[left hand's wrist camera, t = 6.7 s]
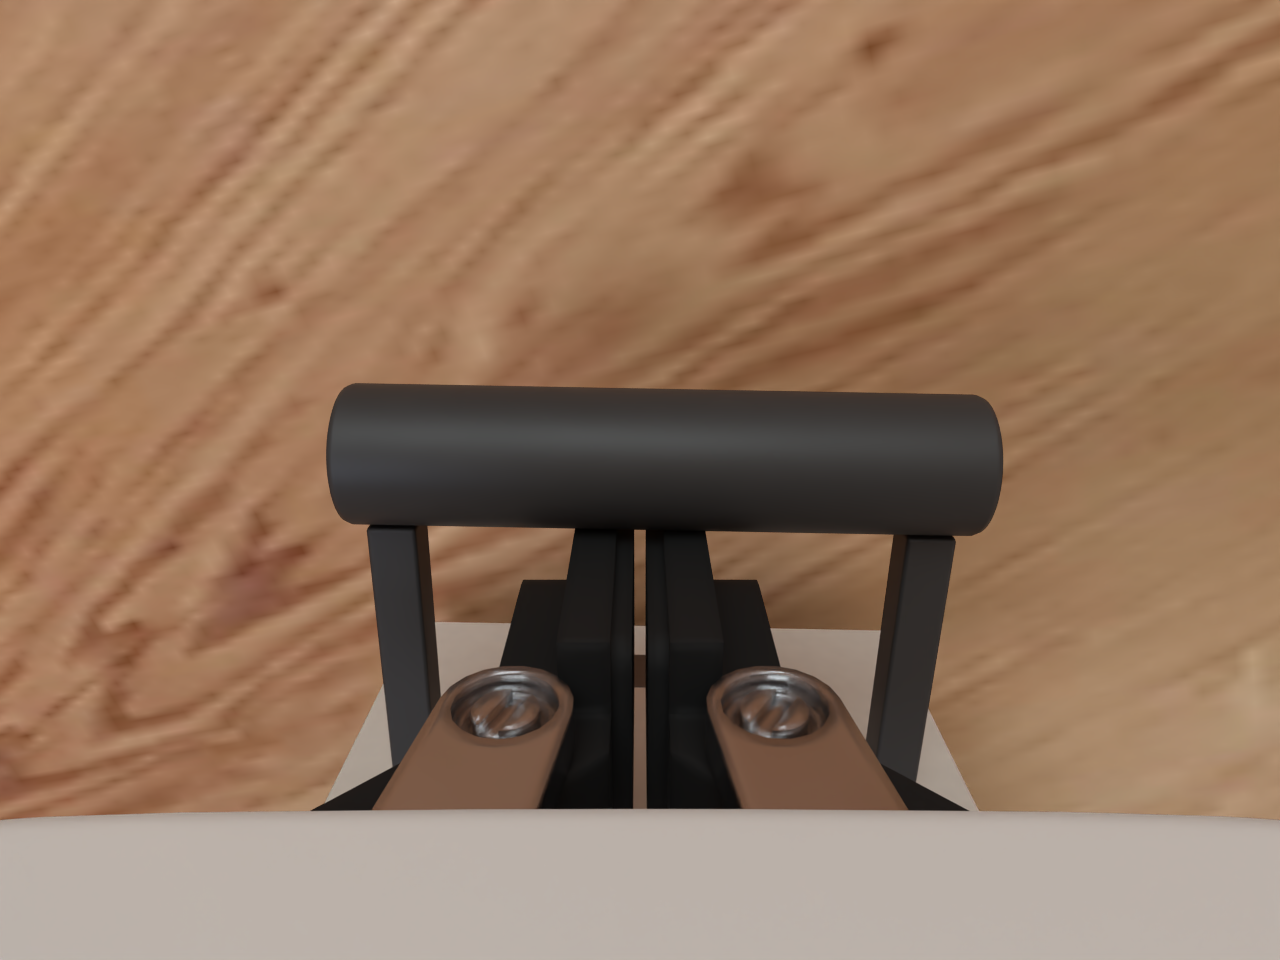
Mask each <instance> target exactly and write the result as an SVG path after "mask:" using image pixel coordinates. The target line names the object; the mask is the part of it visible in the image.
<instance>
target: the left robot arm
mask: <svg viewBox="0 0 1280 960" xmlns="http://www.w3.org/2000/svg"><path fill="white" fill-rule="evenodd" d="M645 690H646V787H647V809H633V781H634V530H631V529H579V528H575V533H574V539H573V545H572V551H571V557H570V563H569V569H568V575H567V580H523V582H522V584H521V588H520V591H519V595H518V599H517V602H516V606H515V610H514V614H513V617H512V621H511V625H510V629H509V632H508V636H507V640H506V643H505V647H504V651H503V655H502V658H501V662H500V666H499V667H496V668H490V669H485V670H482V671H479V672H476V673H474V674H471V675H468V676H466V677H464V678H463V679H461V680H459V681H458V682H456V683H455V684H453V685H452V686H450V687H449V688H448V689H447V691H446V692H445V693H444V694H443V695H442V696H441V697H440V699H439V700H438V702H437V704H436V705H435V707H434V709H433V710H432V712H431V713H430V715H429V717H428V718H427V720H426V722H425V723H424V725H423V727H422V728H421V730H420V731H419V733H418V735H417V736H416V738H415V740H414V741H413V743H412V745H411V746H410V748H409V749H408V751H407V753H406V754H405V756H404V758H403V759H402V761H401V763H399V764H397V765H395V766H394V767H392V768H390V769H388V770H386V771H384V772H382V773H380V774H379V775H377V776H375V777H373V778H371V779H369V780H367V781H365V782H364V783H362V784H360V785H358V786H356V787H354V788H352V789H350V790H349V791H347V792H345V793H343V794H341V795H339V796H337V797H335V798H334V799H332V800H330V801H328V802H326V803H324V804H322V805H320V806H319V807H317V808H315V809H313V810H311V811H279V812H189V813H154V814H123V815H92V816H61V817H36V818H18V819H7V820H0V960H1280V820H1274V819H1262V818H1243V817H1224V816H1192V815H1156V814H1120V813H1085V812H1014V811H969V810H967V809H965V808H963V807H961V806H960V805H958V804H956V803H954V802H952V801H950V800H948V799H946V798H944V797H943V796H941V795H939V794H937V793H935V792H933V791H931V790H929V789H928V788H926V787H924V786H922V785H920V784H918V783H916V782H914V781H913V780H911V779H909V778H907V777H905V776H903V775H901V774H899V773H898V772H896V771H894V770H892V769H890V768H888V767H886V766H884V765H883V764H881V763H879V761H878V759H877V758H876V756H875V754H874V753H873V751H872V749H871V748H870V746H869V745H868V743H867V741H866V740H865V738H864V736H863V735H862V733H861V731H860V730H859V728H858V727H857V725H856V723H855V722H854V720H853V718H852V717H851V715H850V713H849V712H848V710H847V709H846V707H845V705H844V704H843V702H842V700H841V699H840V697H839V696H838V695H837V694H836V693H835V692H834V691H833V689H832V688H831V687H830V686H828V685H827V684H825V683H824V682H822V681H821V680H819V679H817V678H816V677H814V676H812V675H809V674H806V673H804V672H801V671H798V670H795V669H790V668H784V667H781V666H780V662H779V659H778V655H777V651H776V647H775V644H774V640H773V636H772V633H771V629H770V625H769V621H768V618H767V614H766V610H765V607H764V603H763V599H762V595H761V592H760V588H759V584H758V582H757V580H713V575H712V569H711V563H710V557H709V551H708V545H707V539H706V534H705V531H684V530H646V640H645Z"/></svg>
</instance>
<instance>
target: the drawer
mask: <svg viewBox="0 0 1280 960" xmlns="http://www.w3.org/2000/svg"><path fill="white" fill-rule="evenodd" d="M326 464H327V476H328V483H329V488H330V493H331V497H332V500H333V503H334V506H335V509H336V510H337V512H338V514H339V515H340V517H341V518H342V519H343V520H345V521H347V522H349V523H351V524H369V525H370V526H369V527H368V529H367V536H368V546H369V555H370V564H371V573H372V582H373V592H374V601H375V610H376V619H377V629H378V638H379V647H380V656H381V666H382V675H383V685H382V687H381V689H380V692H379V694H378V696H377V698H376V700H375V702H374V704H373V706H372V708H371V710H370V712H369V714H368V716H367V718H366V720H365V722H364V724H363V726H362V728H361V730H360V732H359V734H358V736H357V738H356V740H355V742H354V744H353V746H352V748H351V750H350V752H349V754H348V756H347V758H346V760H345V763H344V765H343V767H342V769H341V771H340V773H339V775H338V777H337V779H336V781H335V783H334V785H333V787H332V789H331V791H330V793H329V795H328V797H327V799H326V801H325V803H326V802H328V801H330V800H332V799H334V798H335V797H337V796H339V795H341V794H343V793H345V792H347V791H349V790H350V789H352V788H354V787H356V786H358V785H360V784H362V783H364V782H365V781H367V780H369V779H371V778H373V777H375V776H377V775H379V774H380V773H382V772H384V771H386V770H388V769H390V768H392V767H394V766H395V765H397V764H399V763H401V761H402V759H403V758H404V756H405V754H406V753H407V751H408V749H409V748H410V746H411V745H412V743H413V741H414V740H415V738H416V736H417V735H418V733H419V731H420V730H421V728H422V727H423V725H424V723H425V722H426V720H427V718H428V717H429V715H430V713H431V712H432V710H433V709H434V707H435V705H436V704H437V702H438V700H439V699H440V697H441V696H442V695H443V694H444V693H445V692H446V691H447V689H448V688H449V687H450V686H452V685H453V684H455V683H456V682H458V681H459V680H461V679H463V678H464V677H466V676H468V675H471V674H474V673H476V672H479V671H482V670H485V669H490V668H496V667H499V666H500V662H501V658H502V655H503V651H504V647H505V643H506V640H507V636H508V632H509V629H510V625H511V623H472V622H435V616H434V603H433V591H432V578H431V566H430V553H429V541H428V529H427V526H474V527H526V528H579V529H631V530H684V531H736V532H789V533H841V534H894V536H893V544H892V551H891V558H890V566H889V573H888V580H887V588H886V595H885V603H884V610H883V617H882V625H881V630H833V629H782V628H770V629H771V633H772V636H773V640H774V644H775V647H776V651H777V655H778V659H779V662H780V666H781V667H784V668H790V669H795V670H798V671H801V672H804V673H806V674H809V675H812V676H814V677H816V678H817V679H819V680H821V681H822V682H824V683H825V684H827V685H828V686H830V687H831V688H832V689H833V691H834V692H835V693H836V694H837V695H838V696H839V697H840V699H841V700H842V702H843V704H844V705H845V707H846V709H847V710H848V712H849V713H850V715H851V717H852V718H853V720H854V722H855V723H856V725H857V727H858V728H859V730H860V731H861V733H862V735H863V736H864V738H865V740H866V741H867V743H868V745H869V746H870V748H871V749H872V751H873V753H874V754H875V756H876V758H877V759H878V761H879V763H881V764H883V765H884V766H886V767H888V768H890V769H892V770H894V771H896V772H898V773H899V774H901V775H903V776H905V777H907V778H909V779H911V780H913V781H914V782H916V783H918V784H920V785H922V786H924V787H926V788H928V789H929V790H931V791H933V792H935V793H937V794H939V795H941V796H943V797H944V798H946V799H948V800H950V801H952V802H954V803H956V804H958V805H960V806H961V807H963V808H965V809H967V810H969V811H979V810H978V808H977V806H976V804H975V802H974V800H973V798H972V796H971V794H970V792H969V790H968V788H967V786H966V784H965V782H964V780H963V777H962V775H961V773H960V771H959V769H958V767H957V765H956V763H955V761H954V759H953V757H952V755H951V753H950V751H949V749H948V747H947V745H946V743H945V741H944V739H943V737H942V735H941V733H940V731H939V729H938V727H937V725H936V723H935V721H934V719H933V717H932V715H931V713H930V711H929V709H928V707H929V701H930V695H931V689H932V683H933V677H934V671H935V665H936V659H937V653H938V646H939V640H940V634H941V628H942V622H943V616H944V610H945V604H946V598H947V592H948V586H949V580H950V574H951V568H952V562H953V556H954V550H955V544H956V541H955V539H954V537H953V536H972V535H975V534H977V533H980V532H982V531H983V530H984V529H985V528H986V527H987V526H988V524H989V523H990V521H991V519H992V517H993V515H994V513H995V510H996V507H997V504H998V500H999V496H1000V491H1001V484H1002V475H1003V447H1002V438H1001V432H1000V427H999V424H998V420H997V417H996V415H995V412H994V410H993V408H992V407H991V405H990V404H989V403H988V402H987V401H986V400H985V399H983V398H981V397H979V396H977V395H962V394H908V393H854V392H800V391H746V390H692V389H638V388H584V387H530V386H476V385H422V384H368V383H355V384H351V385H349V386H347V387H345V388H344V389H343V390H342V391H341V392H340V393H339V395H338V397H337V399H336V401H335V404H334V406H333V409H332V413H331V417H330V422H329V427H328V434H327V446H326ZM645 640H646V626H634V781H633V809H647V787H646V690H645Z"/></svg>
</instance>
